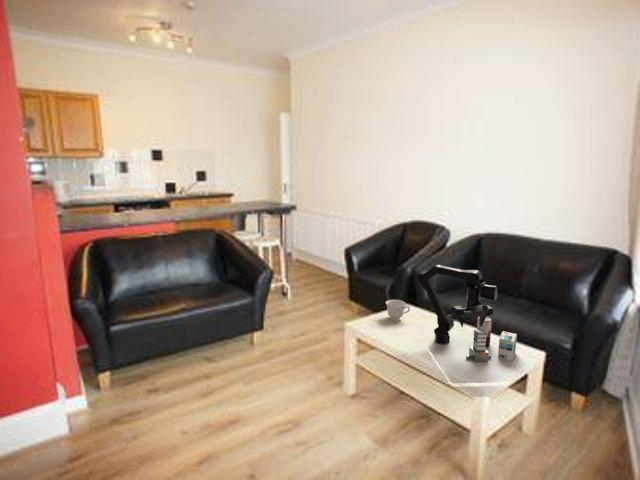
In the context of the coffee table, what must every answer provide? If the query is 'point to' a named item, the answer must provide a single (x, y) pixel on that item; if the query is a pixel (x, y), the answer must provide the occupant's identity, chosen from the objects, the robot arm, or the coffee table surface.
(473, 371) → the coffee table surface
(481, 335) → the column
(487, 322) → the beverage can
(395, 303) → the teacup
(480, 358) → the stand base
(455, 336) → the coffee table surface
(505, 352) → the light bulb box
